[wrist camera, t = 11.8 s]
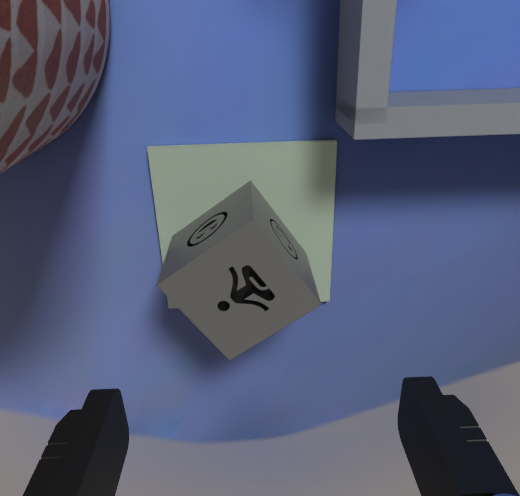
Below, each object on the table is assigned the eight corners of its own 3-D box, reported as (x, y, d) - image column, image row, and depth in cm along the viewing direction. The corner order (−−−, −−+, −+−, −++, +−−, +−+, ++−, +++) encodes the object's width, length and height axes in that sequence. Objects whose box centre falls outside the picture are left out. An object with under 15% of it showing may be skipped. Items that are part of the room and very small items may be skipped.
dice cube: (306, 252, 24) (321, 304, 20) (231, 301, 25) (229, 360, 21) (250, 180, 22) (253, 218, 18) (172, 235, 24) (156, 285, 19)
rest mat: (336, 139, 22) (337, 141, 22) (328, 298, 26) (329, 301, 26) (148, 146, 22) (146, 147, 22) (169, 305, 26) (168, 308, 26)
